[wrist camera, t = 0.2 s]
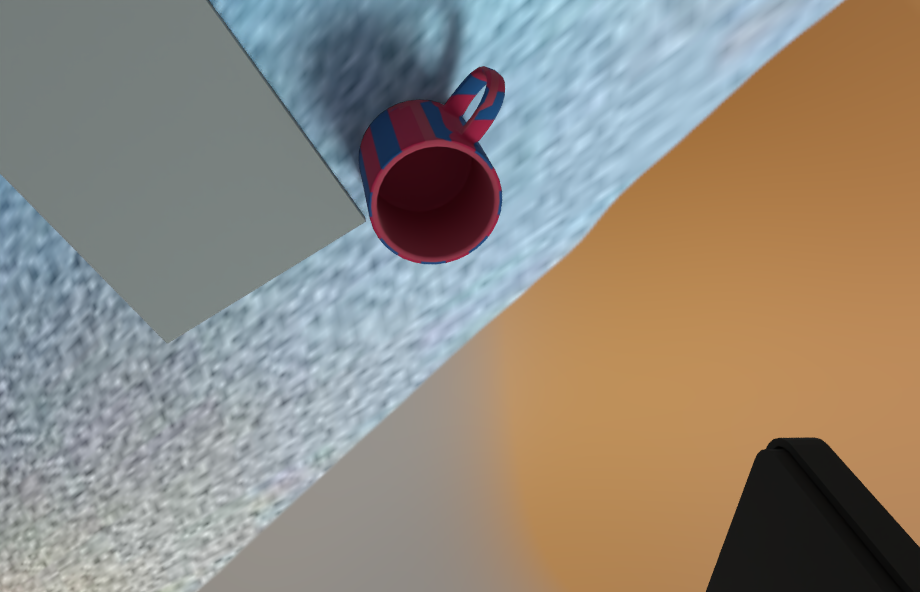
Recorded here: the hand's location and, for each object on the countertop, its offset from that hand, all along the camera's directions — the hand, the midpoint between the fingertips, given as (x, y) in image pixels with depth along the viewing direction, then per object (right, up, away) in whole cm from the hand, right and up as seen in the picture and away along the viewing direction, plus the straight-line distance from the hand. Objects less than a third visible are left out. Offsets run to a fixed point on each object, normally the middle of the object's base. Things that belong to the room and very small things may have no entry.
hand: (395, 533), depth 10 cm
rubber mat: (-16, +11, +33) cm, 38 cm away
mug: (-1, +12, +36) cm, 38 cm away
